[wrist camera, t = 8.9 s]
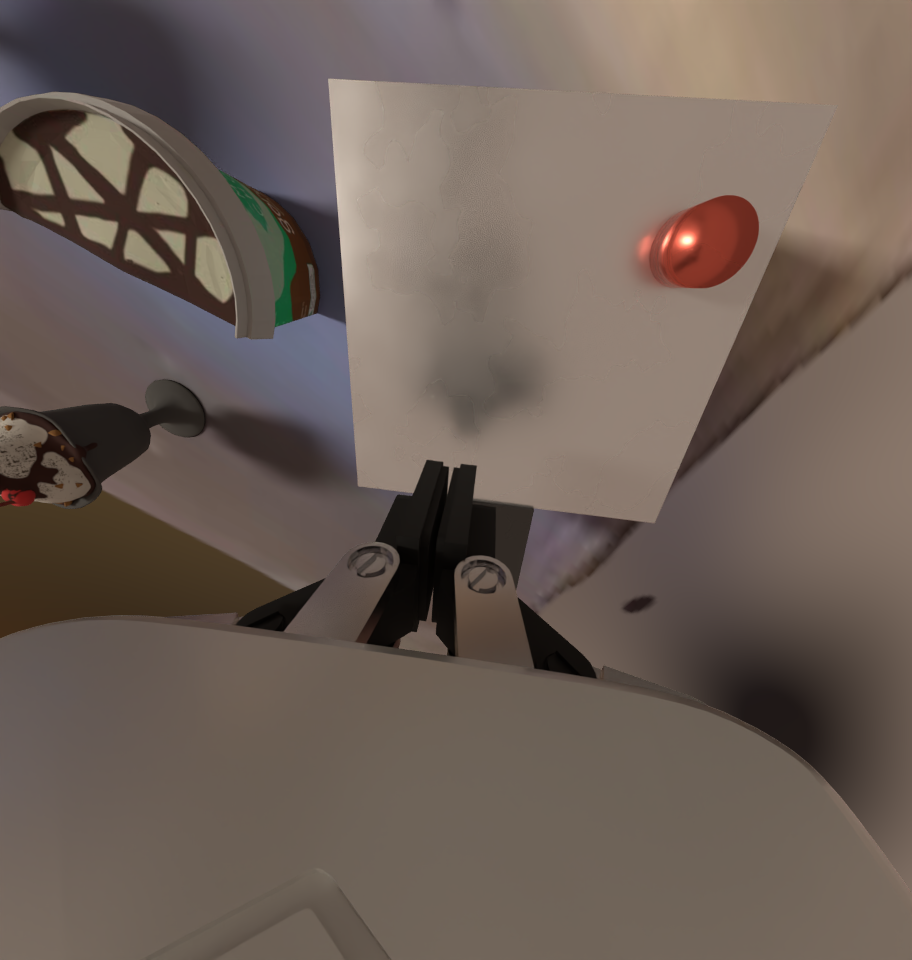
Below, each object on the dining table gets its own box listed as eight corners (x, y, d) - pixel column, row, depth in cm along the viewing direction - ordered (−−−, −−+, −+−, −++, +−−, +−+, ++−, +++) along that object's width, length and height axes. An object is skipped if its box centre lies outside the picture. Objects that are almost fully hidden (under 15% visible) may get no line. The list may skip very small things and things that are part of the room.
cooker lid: (343, 96, 12) (298, 43, 9) (805, 122, 11) (902, 70, 8) (371, 560, 22) (353, 598, 19) (610, 593, 21) (626, 638, 18)
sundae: (229, 441, 30) (25, 558, 17) (163, 448, 32) (-74, 563, 19) (192, 363, 27) (-90, 433, 14) (120, 374, 29) (-201, 447, 15)
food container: (365, 228, 22) (275, 189, 13) (337, 324, 25) (247, 344, 16) (169, 113, 20) (-82, -17, 12) (163, 230, 23) (-41, 196, 15)
